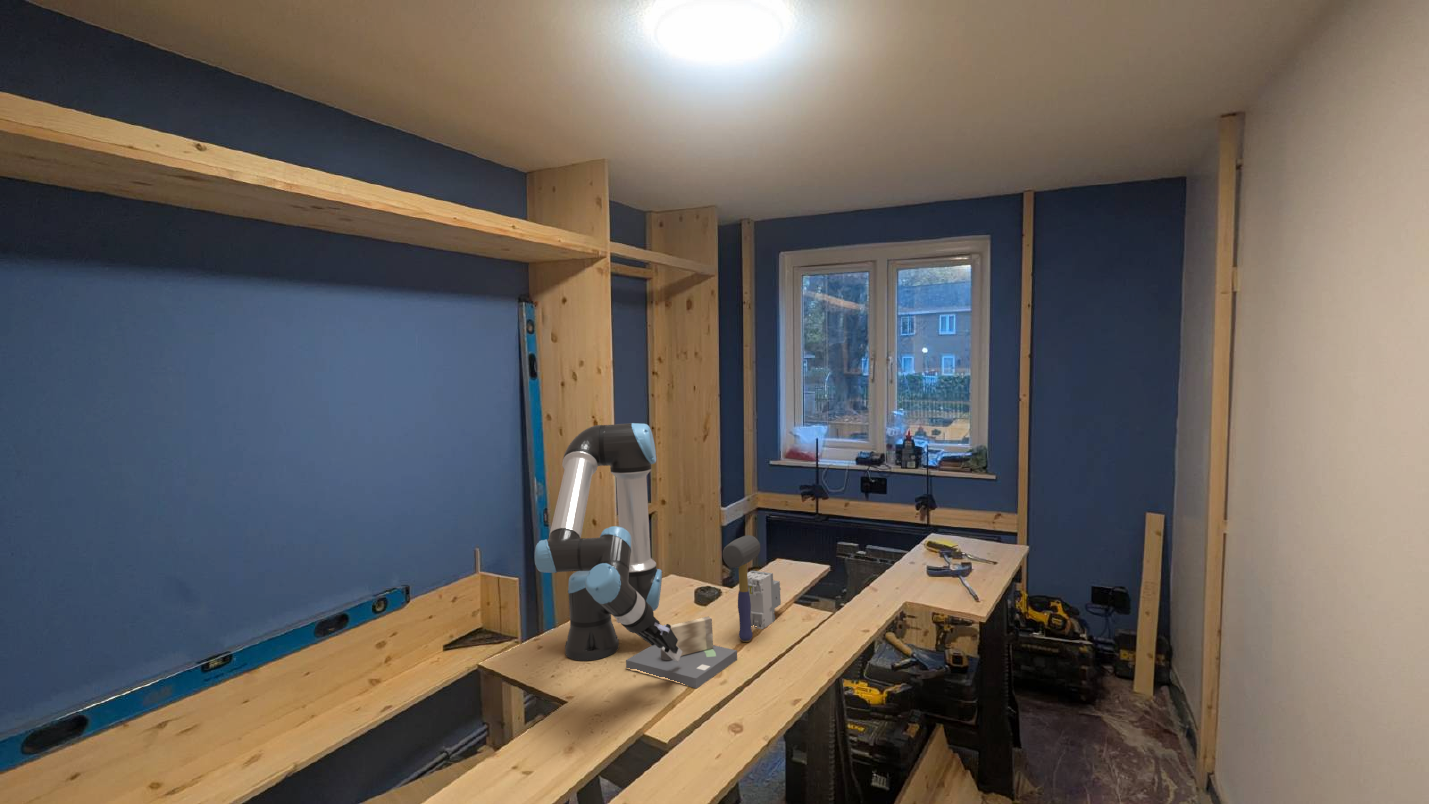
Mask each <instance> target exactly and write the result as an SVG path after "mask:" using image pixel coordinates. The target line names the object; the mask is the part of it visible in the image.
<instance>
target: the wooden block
mask: <svg viewBox="0 0 1429 804" xmlns="http://www.w3.org/2000/svg"><path fill="white" fill-rule="evenodd" d="M670 625H671V630H672V631H673V633H674V635H675V636H676V638H677V639H678V641H677V644H676V645H677V646H678V647H679V648H680V649H681V650H682V654H681V656H682V655H686V654H690V653H694V652H698V651H702V650H706V649H711V648H713V645H714V640H713V639H714V634H713V618H712V617H711V616H704V617H700V618H697V619H692V620H687V621H684V622H678V623H674V624H670ZM661 659H662V660H672V658H671V657H670V656H668V655H667V654H666V653H665V652H664V651H663V650H662V648H661Z"/></svg>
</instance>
